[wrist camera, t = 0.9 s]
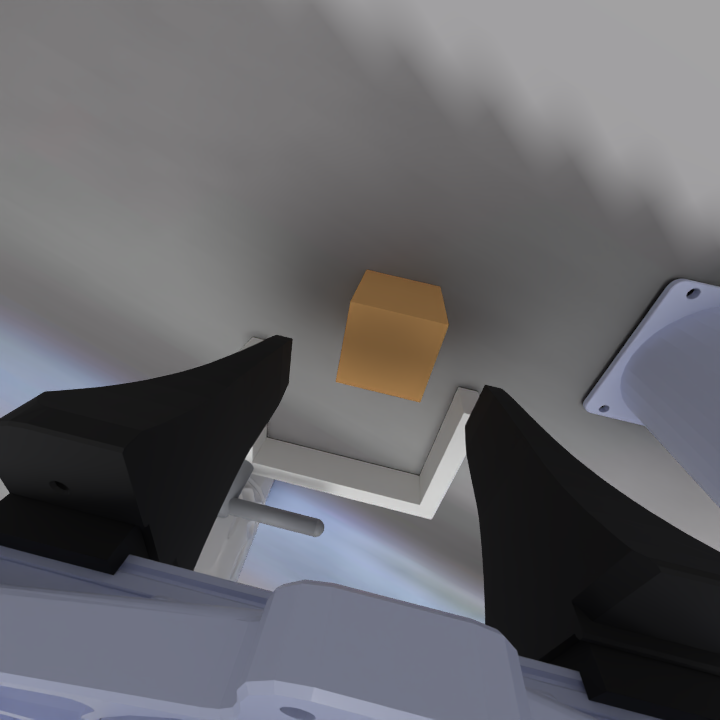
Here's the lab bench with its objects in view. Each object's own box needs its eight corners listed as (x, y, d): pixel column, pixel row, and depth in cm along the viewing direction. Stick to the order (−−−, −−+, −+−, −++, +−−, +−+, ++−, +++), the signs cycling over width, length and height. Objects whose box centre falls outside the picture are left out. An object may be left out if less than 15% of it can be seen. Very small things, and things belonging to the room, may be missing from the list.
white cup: (247, 510, 30) (180, 645, 21) (175, 461, 28) (69, 589, 19) (300, 478, 26) (245, 623, 18) (223, 418, 24) (118, 552, 16)
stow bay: (477, 391, 20) (499, 468, 14) (429, 490, 25) (433, 573, 20) (251, 336, 20) (195, 392, 15) (250, 444, 25) (208, 514, 20)
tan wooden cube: (440, 286, 17) (448, 324, 13) (418, 350, 19) (420, 402, 15) (366, 269, 17) (350, 301, 13) (353, 335, 19) (335, 381, 15)
